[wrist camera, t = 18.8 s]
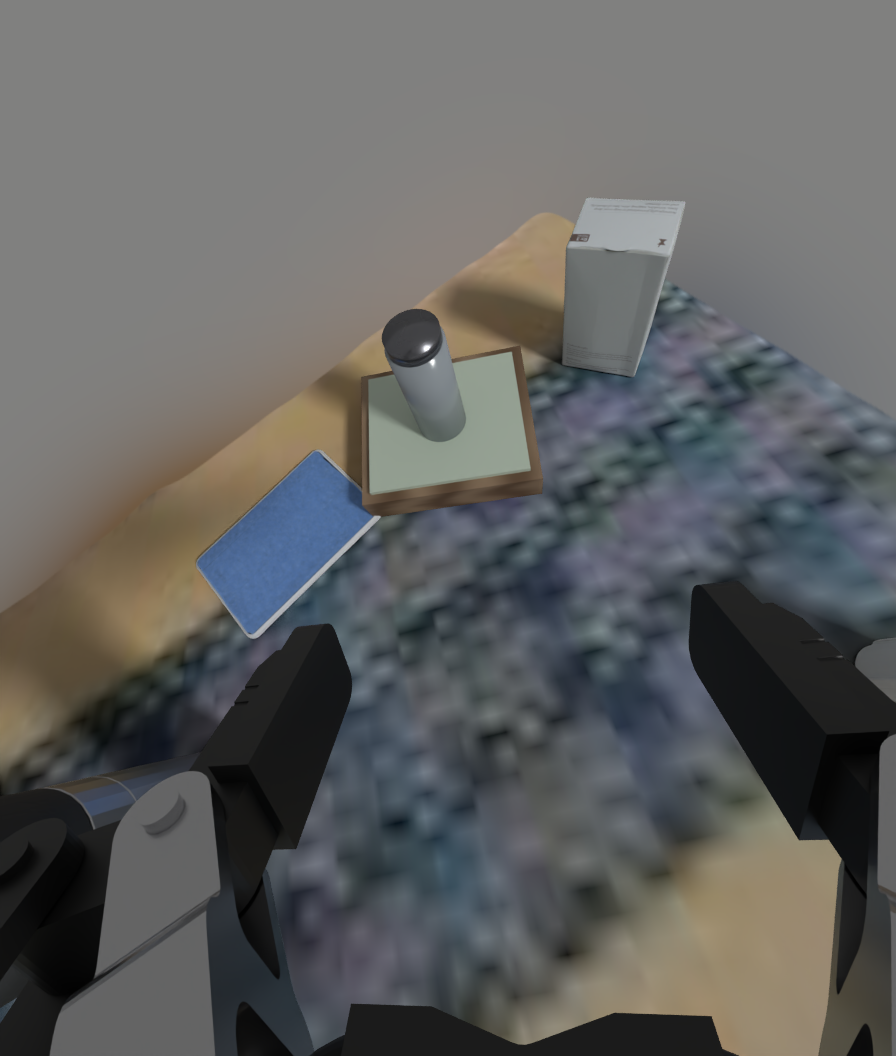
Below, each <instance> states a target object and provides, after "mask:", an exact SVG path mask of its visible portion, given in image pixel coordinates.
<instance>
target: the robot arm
mask: <svg viewBox="0 0 896 1056" xmlns="http://www.w3.org/2000/svg"><path fill="white" fill-rule="evenodd" d="M689 652H690V657H691V661H692V664H693V666H694V669H695V671H696V673H697V675H698V677H699V678H700V680H701V681H702V683H703V685H704V686H705V688H706V690H707V691H708V693H709V694H710V696H711V698H712V699H713V701H714V703H715V704H716V706H717V707H718V709H719V711H720V712H721V714H722V716H723V717H724V719H725V721H726V722H727V724H728V725H729V727H730V729H731V730H732V732H733V734H734V735H735V737H736V738H737V740H738V742H739V743H740V745H741V747H742V748H743V750H744V751H745V753H746V755H747V756H748V758H749V760H750V761H751V763H752V764H753V766H754V768H755V769H756V771H757V773H758V774H759V776H760V778H761V779H762V781H763V782H764V784H765V786H766V787H767V789H768V791H769V792H770V794H771V795H772V797H773V799H774V800H775V802H776V804H777V805H778V807H779V808H780V810H781V812H782V813H783V815H784V817H785V818H786V820H787V822H788V823H789V825H790V826H791V828H792V830H793V831H794V833H795V835H796V836H797V838H798V839H799V840H829V841H830V842H831V844H832V845H833V847H834V848H835V850H836V851H837V853H838V854H839V855H840V857H841V858H842V860H841V863H840V867H839V873H838V885H837V898H836V911H835V923H834V936H833V948H832V961H831V974H830V986H829V997H828V1006H827V1013H826V1019H825V1024H824V1028H823V1032H822V1037H821V1043H820V1048H819V1055H818V1056H896V703H894V702H893V701H892V700H891V699H890V698H889V697H888V696H887V695H886V694H885V693H884V692H882V691H881V690H880V689H879V688H878V687H877V686H876V685H875V684H874V683H873V682H871V681H870V680H869V679H868V678H867V677H866V676H865V675H864V674H863V673H862V672H861V671H859V670H858V669H857V668H856V667H855V666H854V665H853V664H852V663H851V662H850V661H849V660H844V659H843V655H842V654H841V653H840V652H839V651H838V650H836V649H835V648H834V647H833V646H832V645H831V644H830V643H829V642H825V641H824V638H823V637H822V636H821V635H820V634H819V633H818V632H817V631H816V630H815V629H814V628H812V627H811V626H810V625H809V624H808V623H807V622H806V621H805V620H804V619H803V618H801V617H799V616H797V615H795V614H793V613H791V612H789V611H787V610H785V609H784V608H782V607H780V606H778V605H776V604H774V603H765V604H762V603H761V602H760V601H759V600H758V599H757V598H755V597H754V596H753V595H752V594H751V593H750V592H749V591H748V590H747V589H746V588H745V587H744V586H743V585H742V584H741V583H740V582H738V581H730V582H721V583H712V584H702V585H696V586H695V587H694V588H693V591H692V599H691V614H690V630H689ZM351 692H352V678H351V673H350V670H349V667H348V665H347V662H346V659H345V656H344V654H343V651H342V648H341V646H340V643H339V640H338V637H337V635H336V632H335V630H334V628H333V626H332V625H330V624H319V625H309V626H300V627H297V628H295V629H294V631H293V632H292V634H291V635H290V637H289V638H288V640H287V642H286V643H285V645H284V646H283V648H282V650H278V651H275V652H274V653H273V654H272V655H271V656H270V657H269V658H268V659H267V660H265V661H264V662H263V663H262V664H261V665H260V666H259V667H258V668H257V669H256V671H255V672H254V674H253V675H252V677H251V678H250V680H249V681H248V683H247V684H246V686H245V690H242V692H241V693H240V695H239V696H238V698H237V699H236V701H235V702H234V703H235V705H234V706H232V707H231V708H230V710H229V711H228V713H227V714H226V716H225V717H224V719H223V720H222V722H221V723H220V725H219V726H218V728H217V729H216V731H215V732H214V734H213V735H212V737H211V738H210V740H209V741H208V743H207V744H206V746H205V747H204V749H203V750H202V752H199V753H195V754H190V755H186V756H181V757H177V758H173V759H168V760H164V761H159V762H155V763H150V764H146V765H141V766H137V767H133V768H128V769H124V770H119V771H115V772H110V773H106V774H101V775H97V776H92V777H88V778H84V779H80V780H76V781H71V782H67V783H62V784H58V785H54V786H49V787H45V788H40V789H35V790H30V791H26V792H21V793H16V794H11V795H5V796H0V1008H1V1007H2V1006H4V1005H6V1004H7V1003H9V1002H10V1001H12V1000H14V999H15V998H17V999H16V1001H15V1002H14V1004H13V1005H12V1007H11V1008H10V1010H9V1011H8V1013H7V1014H6V1016H5V1017H4V1019H3V1020H2V1022H1V1023H0V1056H738V1055H736V1054H734V1053H731V1052H729V1051H726V1050H724V1049H722V1047H721V1044H720V1041H719V1038H718V1035H717V1032H716V1029H715V1026H714V1023H713V1019H712V1016H688V1015H660V1014H631V1013H613V1014H610V1015H607V1016H605V1017H602V1018H599V1019H596V1020H594V1021H591V1022H588V1023H586V1024H583V1025H580V1026H578V1027H575V1028H572V1029H569V1030H567V1031H564V1032H561V1033H559V1034H556V1035H553V1036H550V1037H548V1038H545V1039H542V1040H540V1041H537V1042H534V1043H531V1044H527V1045H518V1044H515V1043H512V1042H510V1041H507V1040H505V1039H503V1038H501V1037H498V1036H496V1035H494V1034H492V1033H490V1032H487V1031H485V1030H483V1029H481V1028H478V1027H476V1026H474V1025H472V1024H469V1023H467V1022H465V1021H463V1020H460V1019H458V1018H456V1017H454V1016H452V1015H449V1014H447V1013H445V1012H443V1011H440V1010H438V1009H436V1008H434V1007H430V1006H401V1005H373V1004H351V1007H350V1012H349V1017H348V1022H347V1027H346V1032H345V1035H343V1036H341V1037H339V1038H337V1039H335V1040H333V1041H331V1042H330V1043H328V1044H326V1045H324V1046H323V1047H321V1048H319V1049H317V1050H316V1051H315V1052H314V1048H313V1044H312V1040H311V1037H310V1034H309V1031H308V1027H307V1025H306V1022H305V1019H304V1017H303V1014H302V1012H301V1009H300V1007H299V1005H298V1002H297V1000H296V997H295V994H294V991H293V987H292V983H291V979H290V974H289V970H288V965H287V960H286V955H285V950H284V945H283V940H282V935H281V931H280V926H279V921H278V916H277V911H276V906H275V901H274V896H273V892H272V887H271V882H270V877H269V874H268V872H267V870H266V869H265V867H266V865H267V863H268V860H269V858H270V855H271V853H272V850H275V849H296V848H297V845H298V842H299V840H300V837H301V834H302V831H303V829H304V826H305V823H306V820H307V818H308V815H309V812H310V809H311V806H312V804H313V801H314V798H315V795H316V793H317V790H318V787H319V784H320V781H321V779H322V776H323V773H324V770H325V768H326V765H327V762H328V759H329V757H330V754H331V751H332V748H333V745H334V743H335V740H336V737H337V734H338V732H339V729H340V726H341V723H342V721H343V718H344V715H345V712H346V709H347V707H348V704H349V701H350V698H351Z"/></svg>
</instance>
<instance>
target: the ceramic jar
mask: <svg viewBox="0 0 896 1056" xmlns="http://www.w3.org/2000/svg"><path fill="white" fill-rule="evenodd" d="M382 342H383V345H384V347H385V356H386V358H387V360H388V362H389V364H390V367H391V369H392V371H393V373H394V375H395V377H396V380H397V382H398V384H399V386H400V388H401V390H402V393H403V395H404V397H405V399H406V401H407V403H408V406H409V408H410V410H411V412H412V414H413V416H414V419H415V421H416V423H417V425H418V427H419V429H420V432H421V433H422V435H423V436H424V437H425V438H427V439H428V440H431V441H434V442H445V441H449V440H451V439H453V438H455V437H456V436H457V435H459V434H460V433H461V431H462V430H463V428H464V426H465V423H466V414H465V410H464V406H463V402H462V398H461V394H460V391H459V387H458V383H457V379H456V375H455V372H454V368H453V364H452V360H451V356H450V352H449V349H448V345H447V341H446V337H445V334H444V331H443V329H442V328H441V327H440V325H439V321H438V319H437V318H436V316H435V315H434V314H432V313H431V312H429V311H426V310H422V309H411V310H407V311H404V312H402V313H399V314H398V315H396V316H395V317H394V318H392V319H391V320H390V321H389V322H388V323H387V325H386V326H385V328H384V330H383V333H382Z"/></svg>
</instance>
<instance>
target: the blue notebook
mask: <svg viewBox="0 0 896 1056" xmlns="http://www.w3.org/2000/svg"><path fill="white" fill-rule="evenodd" d="M380 517H381V516H372V515H371V514H370V513H369V512H368V511H367V510H366V509H365V508H364V507H363V506H362V488H361V487H360V486H359V485H358V484H357V483H356V482H355V481H354V480H353V479H352V478H351V477H350V476H348V475H347V474H346V473H345V472H344V471H343V470H342V469H341V468H340V467H339V466H338V465H337V464H336V463H335V462H334V461H333V460H332V459H331V458H330V457H329V456H328V455H327V454H326V453H325V452H323V451H322V450H314V451H313V452H312V453H310V454H309V455H308V456H307V457H306V458H305V459H304V460H303V461H302V462H301V463H300V464H299V465H298V466H297V467H296V468H294V469H293V470H292V471H291V472H290V473H289V474H288V475H287V476H286V477H285V478H284V479H283V480H282V481H281V482H280V483H279V484H277V485H276V486H275V487H274V488H273V489H272V490H271V491H270V492H269V493H268V494H267V495H266V496H265V497H264V498H262V499H261V500H260V501H259V502H258V503H257V504H256V505H255V506H254V507H253V508H252V509H251V510H250V511H248V512H247V513H246V514H245V515H244V516H243V517H242V518H241V519H240V520H239V521H238V522H237V523H235V524H234V525H233V526H232V527H231V528H230V529H229V530H228V531H227V532H226V533H225V534H224V535H223V536H221V537H220V538H219V539H218V540H217V541H216V542H215V543H214V544H213V545H212V546H211V547H210V548H209V549H207V550H206V551H205V552H204V553H203V554H202V555H201V556H200V557H199V558H198V559H197V562H196V567H197V569H198V570H199V572H200V573H201V574H202V576H203V577H204V578H205V580H206V581H207V583H208V584H209V585H210V586H211V588H212V589H213V591H214V592H215V593H216V594H217V596H218V597H219V599H220V600H221V601H222V603H223V604H224V605H225V607H226V608H227V609H228V611H229V612H230V614H231V615H232V616H233V618H234V619H235V620H236V622H237V623H238V625H239V626H240V627H241V629H242V630H243V631H244V633H245V634H246V635H247V636H248V637H249V638H251V639H255V638H258V637H259V636H260V635H261V634H262V633H263V632H264V631H265V630H266V629H267V628H268V627H269V626H270V625H271V624H272V623H273V622H274V621H275V620H276V619H277V618H278V617H279V616H280V615H281V614H282V613H283V612H284V611H285V610H286V609H287V608H288V607H289V606H290V605H291V604H292V603H293V602H295V601H296V600H297V599H298V598H299V597H300V596H301V595H302V594H303V593H304V592H305V591H306V590H307V589H308V588H309V587H310V586H311V585H312V584H313V583H314V582H315V581H316V580H317V579H318V578H319V577H320V576H321V575H322V574H323V573H324V572H325V571H326V570H327V569H328V568H329V567H330V566H331V565H332V564H333V563H334V562H335V561H336V560H337V559H338V558H339V557H340V556H341V555H342V554H344V553H345V552H346V551H347V550H348V549H349V548H350V547H351V546H352V545H353V544H354V543H355V542H356V541H357V540H358V539H359V538H360V537H361V536H362V535H363V534H365V533H366V532H367V531H368V530H369V528H370V527H371V526H372V525H373V524H374V523H376V522H377V521H378V520H379V519H380Z"/></svg>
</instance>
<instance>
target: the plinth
mask: <svg viewBox="0 0 896 1056" xmlns="http://www.w3.org/2000/svg"><path fill="white" fill-rule="evenodd" d="M451 360H452V364H453V368H454V372H455V375H456V379H457V383H458V387H459V391H460V394H461V398H462V402H463V406H464V410H465V414H466V423H465V426H464V428H463V430H462V431H461V433H460V434H459V435H457V436H456V437H455V438H453V439H451V440H449V441H445V442H434V441H431V440H428V439H427V438H425V437H424V436H423V435H422V433H421V432H420V429H419V427H418V425H417V423H416V421H415V419H414V416H413V414H412V412H411V410H410V408H409V406H408V403H407V401H406V399H405V397H404V395H403V393H402V390H401V388H400V386H399V384H398V382H397V380H396V377H395V375H394V373H393V371H389V372H384V373H379V374H374V375H369V376H364V377H362V506H363V507H364V508H365V509H366V510H367V511H368V512H369V513H370V514H371V515H372V516H381V517H382V516H389V515H396V514H403V513H410V512H417V511H424V510H431V509H438V508H444V507H451V506H458V505H465V504H472V503H479V502H486V501H493V500H500V499H507V498H514V497H521V496H528V495H535V494H542V485H543V476H542V471H541V465H540V459H539V453H538V447H537V441H536V436H535V430H534V424H533V418H532V412H531V407H530V401H529V395H528V389H527V383H526V377H525V372H524V366H523V360H522V354H521V348H520V346H516V347H511V348H506V349H501V350H496V351H491V352H486V353H481V354H476V355H471V356H466V357H460V358H455V359H451Z"/></svg>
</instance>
